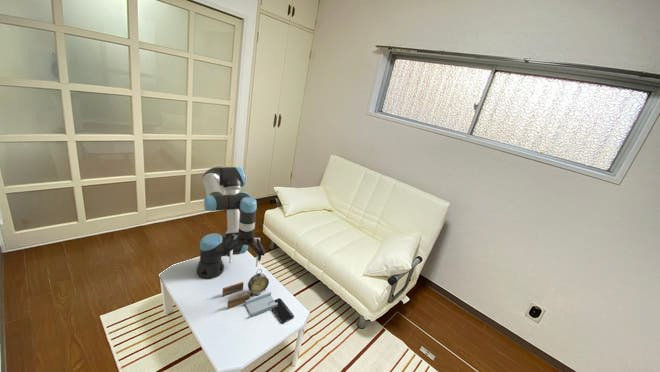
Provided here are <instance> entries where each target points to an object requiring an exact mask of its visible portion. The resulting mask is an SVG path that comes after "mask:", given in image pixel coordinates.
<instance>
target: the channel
mask: <svg viewBox="0 0 660 372" xmlns="http://www.w3.org/2000/svg"><path fill="white" fill-rule="evenodd" d="M242 291H244V281H242V282H238V283H235V284H231V285H228V286H225V287H222V292H221V293H222V297H226V296H229V295H233V294H236V293H239V292H242ZM250 295H251V294H250V293H248V292H247V293H245V294H242V295H239V296H236V297H233V298H229V299H227V309H228V310H230V309H232V308H236V307H237V306H241V305H243V304H244V305H245V301H246V300H249V299H250V297H251V296H250Z"/></svg>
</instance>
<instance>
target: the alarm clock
mask: <svg viewBox="0 0 660 372" xmlns="http://www.w3.org/2000/svg"><path fill="white" fill-rule="evenodd" d="M258 271H261V272H258ZM262 272H263V269H261V268H260V269H257V271H256V272H255V274H254V275H253V276H251V277H250V279H249V281H248V283H247V288H248V290H249V291H250V293H251V294H250V296H249V297H252V295H258V294H262V293H263V292H265V291H266V289H267V288H268V286H269V283H270V281H269V278H268V277H267V276H266V275H265V274H264V273H262Z"/></svg>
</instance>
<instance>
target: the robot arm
mask: <svg viewBox="0 0 660 372" xmlns="http://www.w3.org/2000/svg"><path fill="white" fill-rule="evenodd" d="M201 182H202V183H201V184H202V185H203V187H205V188H204V189H205V193H206V195H205V196H204V197H203V208H204V211H206V212H209V211H210V212H216V211H226V224H227V225H226V226H227V230H226V232H225V233H224V236H222V235H221V234H220V233H217V232H212V233H208V234H206V235H204V236H203V237H202V238H201V239H200V241H199V262H198V264H197V266H196V274H197V276H198V277H199V278H201V279H204V280H209V279H215V278H218V277H219V276H220V277H221V275H222V274H223V272H224V270H225V265H224V262H223V260H222V259H223V257H228V258H229V259H228V264H231V263H232V261H233V257H234V256H236V255H238V256H239V255H241V254H242V255H243V254H245V253H246V252H247V251H248V248H249V247H250V248H251V249H252V250H254V252H255V253H256V261H255V268H257V267H258V265H259V264H260V263H259V262H260V261H261V259H262V256H265V254H266V250H265V248H264V246H263V244H262V241H261V237H260V236H258V237H255V228H256V215H257V208H258V206H257V199H255V198H254V197H251V195H250V194H249V193H248V192H246V191H243V188H244V187H243V186H245V185H246V175H245V171H244V169H243V168H242V167H236V166H234V167H232V166H231V167H230V166H216V167H215V166H214V167H211V168H209V169H207V170H206V171H205V172H204V173H203V174H202V177H201ZM221 187H222V188H221ZM222 189H223V190H224V191H225V194H223V190H222ZM255 243H256V244H255Z"/></svg>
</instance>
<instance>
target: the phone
mask: <svg viewBox="0 0 660 372" xmlns="http://www.w3.org/2000/svg"><path fill="white" fill-rule="evenodd" d="M273 300H274V301H275V303H278V306H277V307H275V308H272V309H271V310H270V311H272V313H273V314H274V316H276V318H277V320H278V321H279V322H280V324H285V323H287V322H290V321H291V320H293V319H294V318H295V315H294V314H293V312H292V311H291V310H290V309H289V307H288V305H286V304H285V303H284V301H283V300H282V298H278V297H277V299H276V298H275V299H273ZM272 302H273V301H272ZM270 303H271V302H270ZM268 305H269V304H268Z"/></svg>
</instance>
